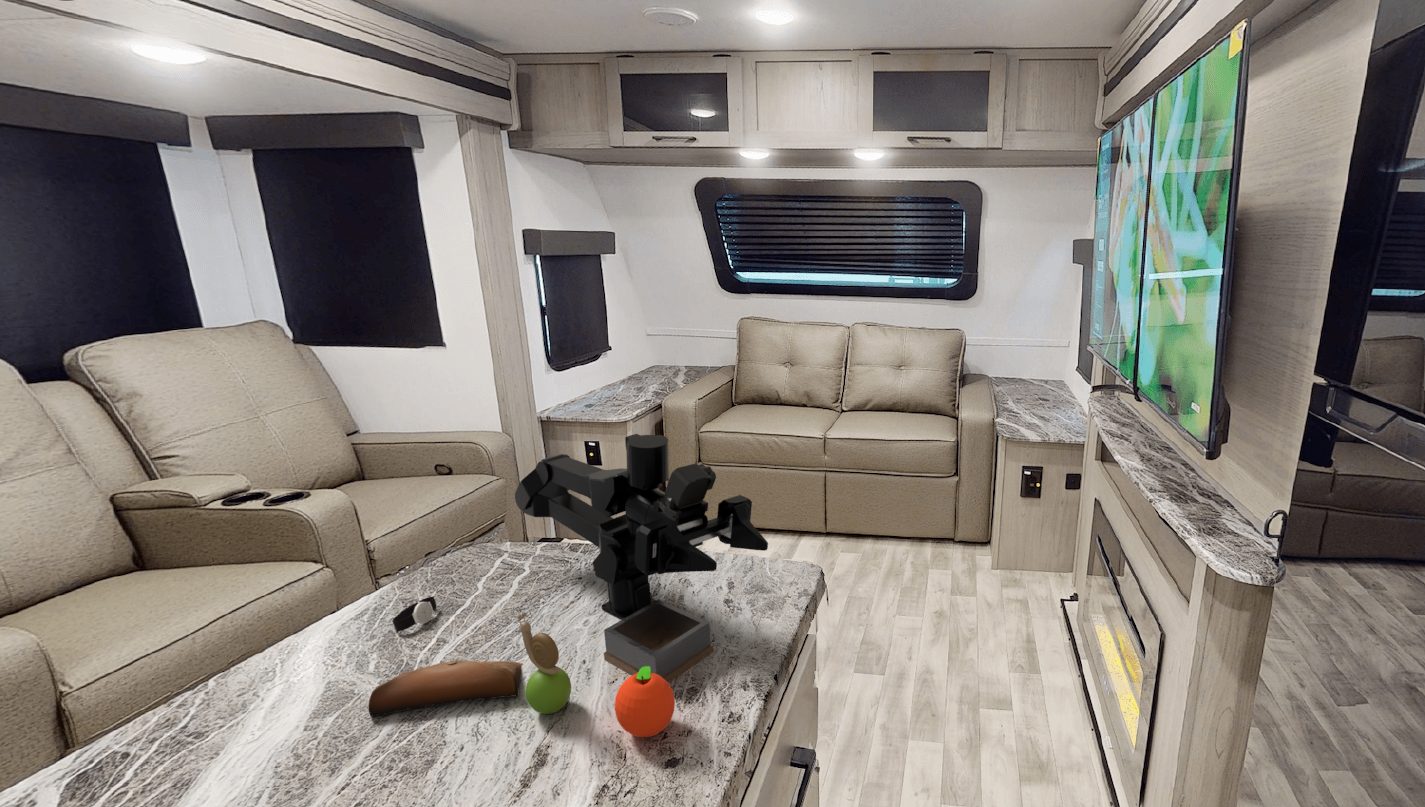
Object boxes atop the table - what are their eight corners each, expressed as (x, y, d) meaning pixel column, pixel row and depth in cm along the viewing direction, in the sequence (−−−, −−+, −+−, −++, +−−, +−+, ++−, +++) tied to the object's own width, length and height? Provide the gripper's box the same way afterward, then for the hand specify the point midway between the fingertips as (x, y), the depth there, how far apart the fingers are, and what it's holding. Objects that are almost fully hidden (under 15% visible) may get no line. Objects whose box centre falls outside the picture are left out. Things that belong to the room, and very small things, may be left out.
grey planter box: (604, 659, 94) (601, 630, 93) (660, 625, 102) (658, 598, 101) (657, 690, 87) (654, 658, 86) (713, 651, 95) (711, 622, 94)
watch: (410, 637, 103) (406, 615, 102) (385, 633, 104) (381, 611, 104) (445, 610, 110) (442, 590, 109) (421, 607, 112) (418, 586, 111)
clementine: (623, 705, 85) (618, 653, 83) (679, 703, 85) (675, 652, 83) (612, 752, 77) (606, 696, 76) (674, 750, 77) (669, 695, 75)
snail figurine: (547, 686, 89) (537, 603, 86) (582, 704, 86) (572, 617, 83) (513, 710, 85) (501, 623, 82) (548, 730, 81) (537, 639, 78)
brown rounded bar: (526, 659, 95) (518, 636, 91) (524, 711, 90) (515, 689, 86) (389, 677, 93) (374, 654, 88) (379, 731, 88) (362, 709, 83)
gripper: (608, 472, 88) (690, 513, 77) (713, 448, 101) (796, 480, 90) (605, 552, 91) (684, 602, 80) (708, 519, 103) (788, 558, 93)
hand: (742, 556), depth 86 cm, fingers open, 9 cm apart
